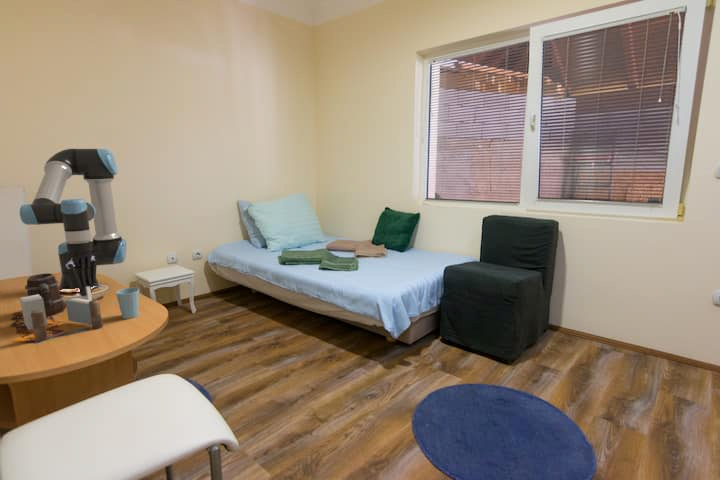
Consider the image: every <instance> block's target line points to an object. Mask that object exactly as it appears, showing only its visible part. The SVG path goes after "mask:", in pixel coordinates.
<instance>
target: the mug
mask: <svg viewBox="0 0 720 480" xmlns="http://www.w3.org/2000/svg"><path fill="white" fill-rule="evenodd" d="M58 284H60V281H59V280H56V276H55V275H54V274H52V273H48V272H47V273H39V274H33V275H31V276H29V277H28V278H27V280H26V285H25V287H24V290H27V296H32V295H37V294H39V295H40V296H41V297H42V298H43V301H44V307H45V312H46V317H49V316H53V315H57V314H59V313H61V312H64V311H65V309H67V307H66V302H65V301H64V296H63V295H62V294H61V292H60V290H59V285H58Z"/></svg>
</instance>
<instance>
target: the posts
mask: <svg viewBox="0 0 720 480" xmlns="http://www.w3.org/2000/svg"><path fill="white" fill-rule="evenodd" d="M100 306H101V305H100V299H92V301H89V307H90V314H91V321H92V325H91V326H92V327H91V326H90V327H84V328H79V329H74V330H73V329H72V330H70V331H64V332H60V333H55V334H54V333H53V334H50V335H48V332H47V331H48V330H47V326H46V324H45V318H44V312H43V309H40V310H34V311H31V318H32V323H33V329H32V330H33V333H34V340H35V343H36V342H42V341H47V340H48V339H53V338H57V337H62V336H68V335H75V334H77V333H78V334H79V333H82V332H88V331H91V328H92V330H99V329H102V328H103V322H102V312H101V307H100Z"/></svg>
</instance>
